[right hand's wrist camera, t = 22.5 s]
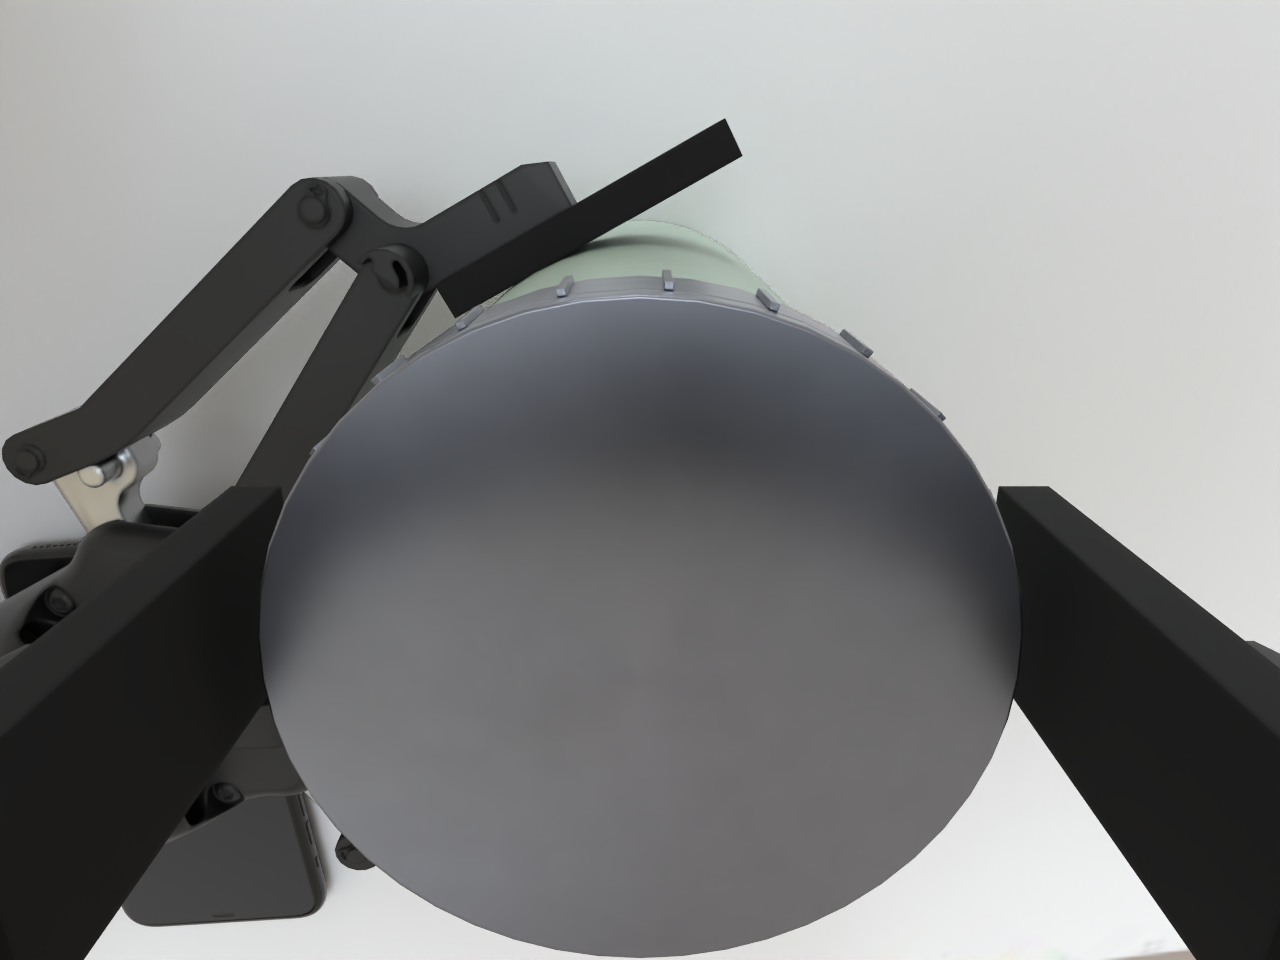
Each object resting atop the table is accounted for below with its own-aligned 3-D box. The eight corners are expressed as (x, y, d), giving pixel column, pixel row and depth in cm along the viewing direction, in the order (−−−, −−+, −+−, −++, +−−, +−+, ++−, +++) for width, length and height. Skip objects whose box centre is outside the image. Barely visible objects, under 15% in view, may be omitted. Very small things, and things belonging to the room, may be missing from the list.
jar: (707, 543, 28) (782, 971, 13) (455, 439, 27) (223, 782, 12) (836, 297, 25) (1119, 488, 10) (562, 167, 24) (432, 170, 9)
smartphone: (1, 543, 28) (138, 913, 33) (-19, 555, 27) (125, 933, 32) (237, 526, 28) (337, 901, 33) (224, 537, 27) (329, 920, 32)
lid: (304, 839, 13) (260, 928, 12) (296, 219, 10) (235, 228, 8) (888, 898, 14) (920, 991, 12) (1065, 321, 10) (1139, 349, 9)
